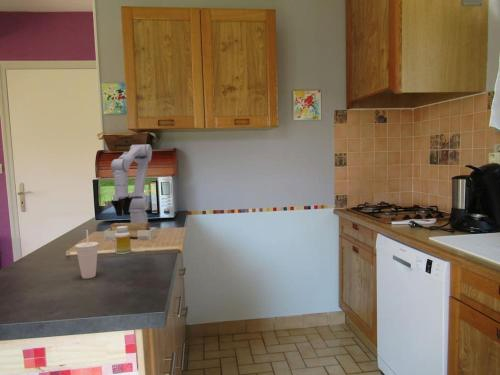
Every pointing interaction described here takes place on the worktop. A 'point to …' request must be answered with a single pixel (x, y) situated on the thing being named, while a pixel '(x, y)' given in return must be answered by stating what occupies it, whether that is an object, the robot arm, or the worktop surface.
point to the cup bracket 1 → (109, 234)
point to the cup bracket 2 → (146, 234)
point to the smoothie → (87, 257)
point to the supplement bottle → (122, 240)
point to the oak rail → (131, 227)
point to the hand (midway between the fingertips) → (122, 214)
